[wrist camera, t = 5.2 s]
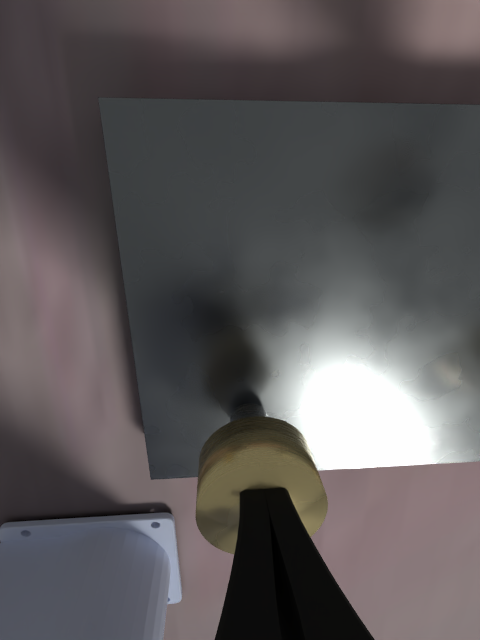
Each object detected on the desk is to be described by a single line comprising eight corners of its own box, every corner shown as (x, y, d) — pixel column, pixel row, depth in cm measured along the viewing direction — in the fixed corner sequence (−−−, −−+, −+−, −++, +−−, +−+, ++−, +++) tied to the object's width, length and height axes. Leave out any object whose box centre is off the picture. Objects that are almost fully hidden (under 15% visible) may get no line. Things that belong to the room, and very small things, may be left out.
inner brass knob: (203, 457, 14) (198, 561, 10) (199, 380, 13) (192, 467, 9) (292, 453, 15) (321, 551, 11) (298, 377, 13) (334, 459, 9)
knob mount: (157, 447, 17) (150, 479, 15) (117, 111, 11) (97, 97, 9) (569, 427, 19) (608, 454, 17) (716, 121, 13) (800, 110, 11)
